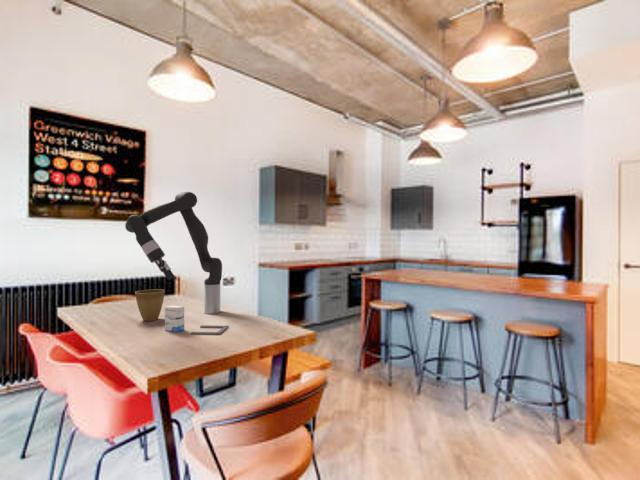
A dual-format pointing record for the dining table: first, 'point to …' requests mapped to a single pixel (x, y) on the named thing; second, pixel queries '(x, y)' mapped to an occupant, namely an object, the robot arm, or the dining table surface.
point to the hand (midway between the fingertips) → (171, 277)
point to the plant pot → (150, 303)
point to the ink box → (174, 318)
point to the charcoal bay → (211, 332)
